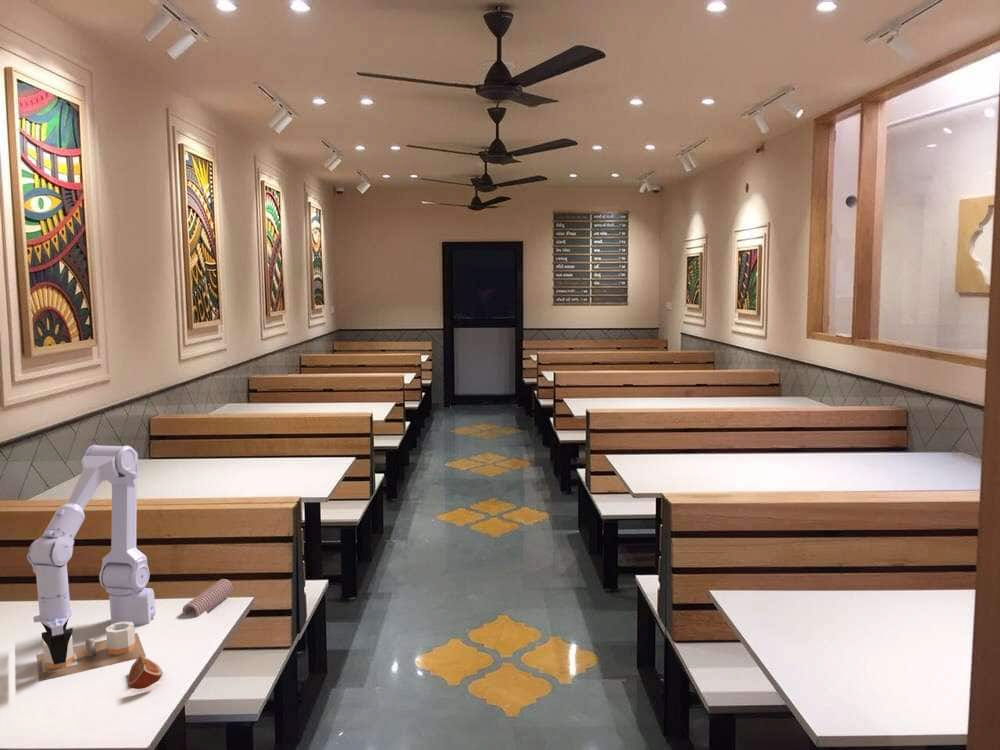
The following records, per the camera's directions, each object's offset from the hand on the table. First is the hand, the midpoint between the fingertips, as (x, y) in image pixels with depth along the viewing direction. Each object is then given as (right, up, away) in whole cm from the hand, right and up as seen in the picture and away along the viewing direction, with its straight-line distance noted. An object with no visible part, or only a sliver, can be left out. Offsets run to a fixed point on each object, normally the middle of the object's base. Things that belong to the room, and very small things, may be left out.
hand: (58, 655), depth 172 cm
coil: (+20, 0, +32) cm, 38 cm away
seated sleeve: (+10, -1, +6) cm, 12 cm away
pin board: (+5, -3, +3) cm, 7 cm away
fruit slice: (+21, -4, -7) cm, 23 cm away
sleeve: (0, -2, 0) cm, 2 cm away
